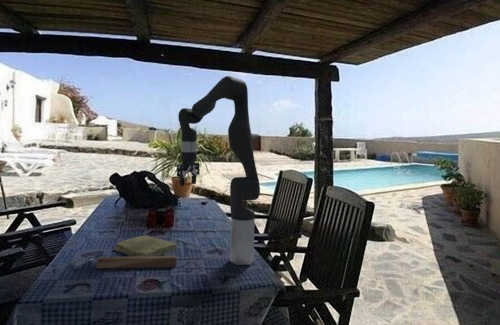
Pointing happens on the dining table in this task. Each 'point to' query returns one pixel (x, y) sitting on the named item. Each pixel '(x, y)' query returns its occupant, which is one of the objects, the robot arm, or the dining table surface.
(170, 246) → the olive stone slab
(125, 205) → the dining table surface
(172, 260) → the walnut rail
